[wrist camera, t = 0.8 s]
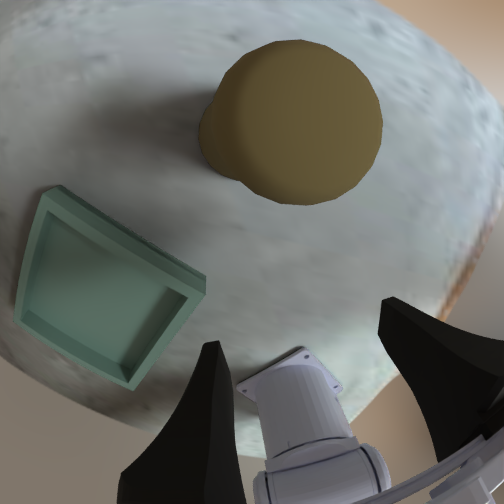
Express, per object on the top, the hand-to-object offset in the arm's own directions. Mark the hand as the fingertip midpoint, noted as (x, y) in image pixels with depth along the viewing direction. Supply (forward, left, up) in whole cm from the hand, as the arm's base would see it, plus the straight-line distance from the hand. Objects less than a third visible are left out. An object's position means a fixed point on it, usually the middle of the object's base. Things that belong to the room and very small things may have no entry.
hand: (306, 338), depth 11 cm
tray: (+5, +13, -9) cm, 17 cm away
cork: (+7, -3, -9) cm, 12 cm away
